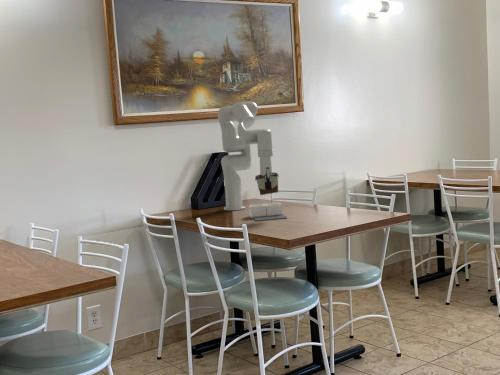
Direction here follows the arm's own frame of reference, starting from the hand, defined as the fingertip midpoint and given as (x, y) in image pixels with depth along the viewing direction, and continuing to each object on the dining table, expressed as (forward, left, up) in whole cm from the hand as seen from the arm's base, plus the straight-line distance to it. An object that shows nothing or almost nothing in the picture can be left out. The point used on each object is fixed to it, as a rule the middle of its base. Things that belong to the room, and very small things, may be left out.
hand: (267, 188), depth 327 cm
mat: (0, 0, -16) cm, 16 cm away
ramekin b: (-8, +3, -16) cm, 18 cm away
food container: (-1, 0, -3) cm, 3 cm away
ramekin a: (-8, -5, -16) cm, 18 cm away
